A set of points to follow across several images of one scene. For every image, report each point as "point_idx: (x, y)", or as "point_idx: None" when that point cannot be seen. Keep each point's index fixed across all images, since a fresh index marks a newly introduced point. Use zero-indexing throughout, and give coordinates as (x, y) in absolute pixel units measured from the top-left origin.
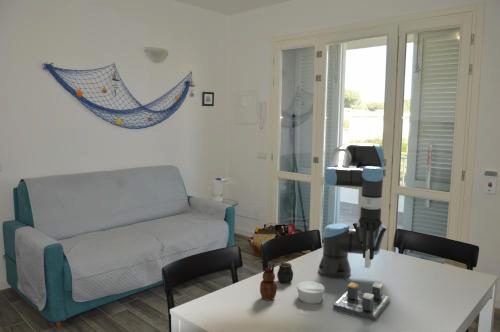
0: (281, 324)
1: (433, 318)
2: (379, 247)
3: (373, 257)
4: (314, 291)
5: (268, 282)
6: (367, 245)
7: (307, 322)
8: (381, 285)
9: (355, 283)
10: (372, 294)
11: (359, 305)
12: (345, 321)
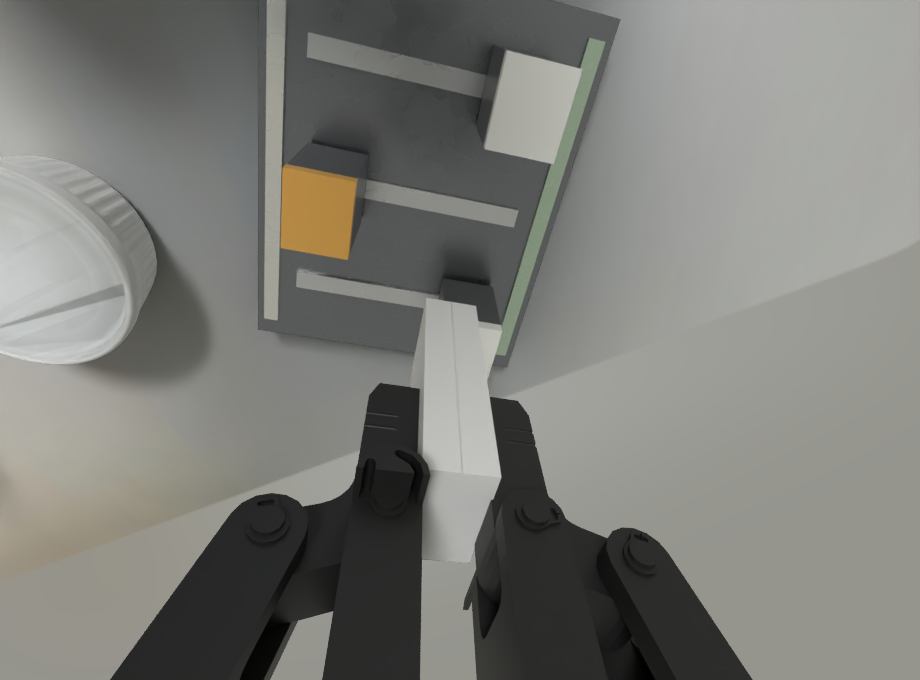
0: (136, 512)
1: (847, 181)
2: (681, 593)
3: (526, 429)
4: (83, 315)
5: None
6: (413, 573)
7: (218, 466)
8: (567, 117)
9: (329, 178)
10: (493, 333)
11: (408, 282)
12: None
